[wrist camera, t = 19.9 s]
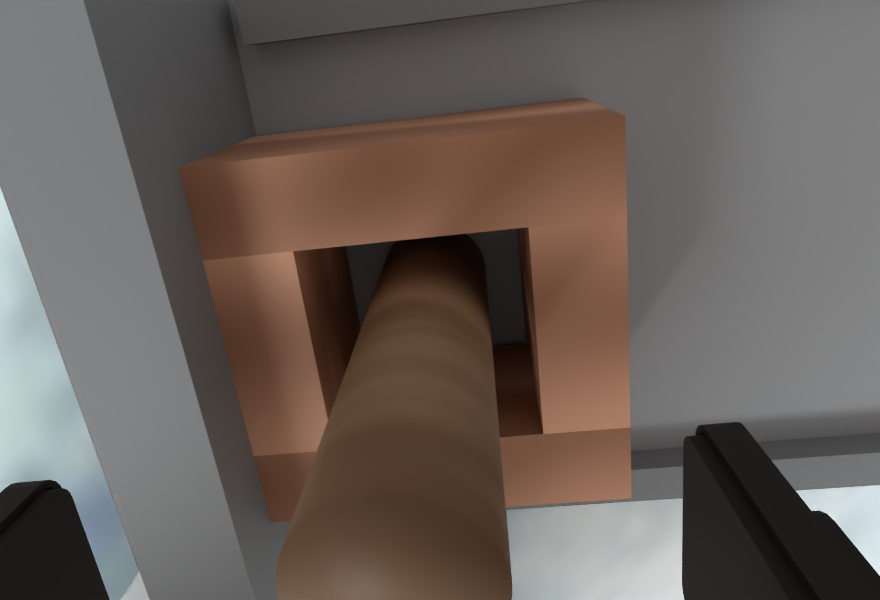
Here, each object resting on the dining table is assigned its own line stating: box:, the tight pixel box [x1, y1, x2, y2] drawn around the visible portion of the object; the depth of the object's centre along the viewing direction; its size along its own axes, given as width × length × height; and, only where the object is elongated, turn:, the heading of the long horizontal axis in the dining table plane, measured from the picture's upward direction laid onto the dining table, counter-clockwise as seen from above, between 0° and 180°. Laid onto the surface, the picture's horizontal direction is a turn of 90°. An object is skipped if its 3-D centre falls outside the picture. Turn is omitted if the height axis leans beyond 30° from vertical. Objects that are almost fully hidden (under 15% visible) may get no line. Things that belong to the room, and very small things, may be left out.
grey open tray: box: [0, 0, 880, 600], centre depth 17 cm, size 16×22×9 cm
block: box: [179, 98, 632, 523], centre depth 17 cm, size 9×9×5 cm
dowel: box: [276, 234, 512, 600], centre depth 14 cm, size 3×3×12 cm
